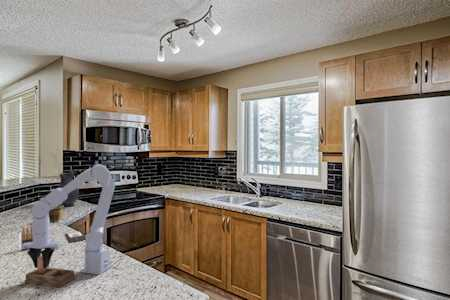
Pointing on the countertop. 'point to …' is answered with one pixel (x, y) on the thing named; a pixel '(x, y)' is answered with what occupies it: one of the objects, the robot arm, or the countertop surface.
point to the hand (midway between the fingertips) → (41, 267)
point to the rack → (50, 277)
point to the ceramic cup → (56, 214)
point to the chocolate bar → (75, 236)
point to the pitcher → (73, 194)
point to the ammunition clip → (27, 236)
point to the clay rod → (40, 265)
